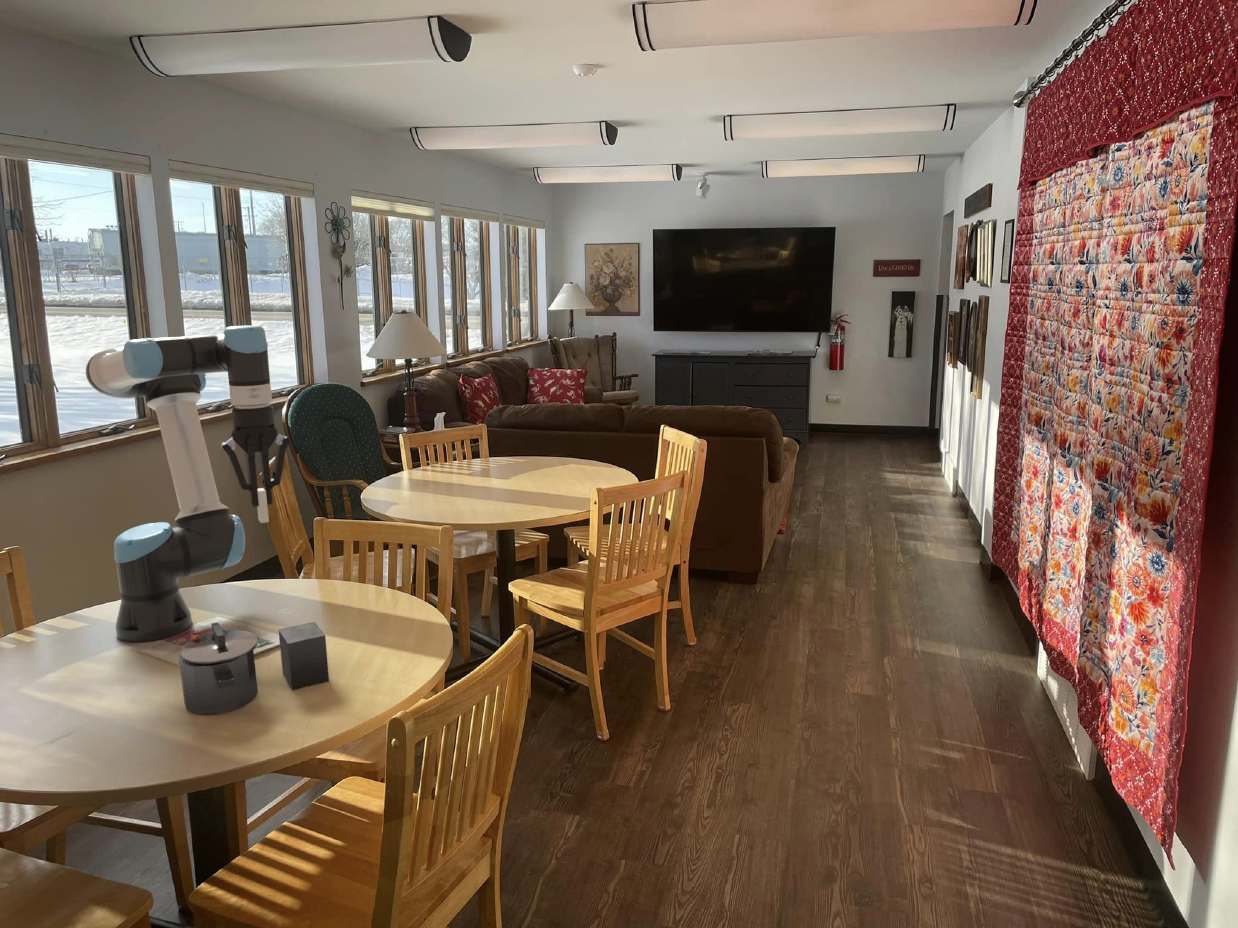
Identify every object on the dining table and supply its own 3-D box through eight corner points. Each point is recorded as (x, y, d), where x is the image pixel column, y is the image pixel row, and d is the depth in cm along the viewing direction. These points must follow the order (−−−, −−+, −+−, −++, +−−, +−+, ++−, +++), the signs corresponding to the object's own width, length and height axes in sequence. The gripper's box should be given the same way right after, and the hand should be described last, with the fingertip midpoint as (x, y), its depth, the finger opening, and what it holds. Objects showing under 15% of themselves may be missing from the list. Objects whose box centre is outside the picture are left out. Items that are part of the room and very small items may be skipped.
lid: (177, 644, 169) (174, 625, 168) (250, 629, 176) (248, 610, 175) (186, 670, 158) (184, 649, 157) (263, 652, 165) (261, 633, 164)
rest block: (282, 674, 178) (278, 629, 176) (318, 666, 182) (314, 621, 180) (292, 690, 172) (287, 643, 169) (329, 681, 175) (325, 635, 173)
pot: (178, 685, 174) (172, 639, 172) (246, 670, 180) (241, 625, 178) (193, 731, 157) (187, 680, 155) (267, 712, 163) (262, 663, 161)
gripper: (219, 411, 169) (232, 530, 174) (290, 404, 175) (301, 520, 181) (213, 405, 175) (225, 521, 180) (282, 400, 182) (292, 511, 187)
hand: (263, 520), depth 180 cm, fingers closed
